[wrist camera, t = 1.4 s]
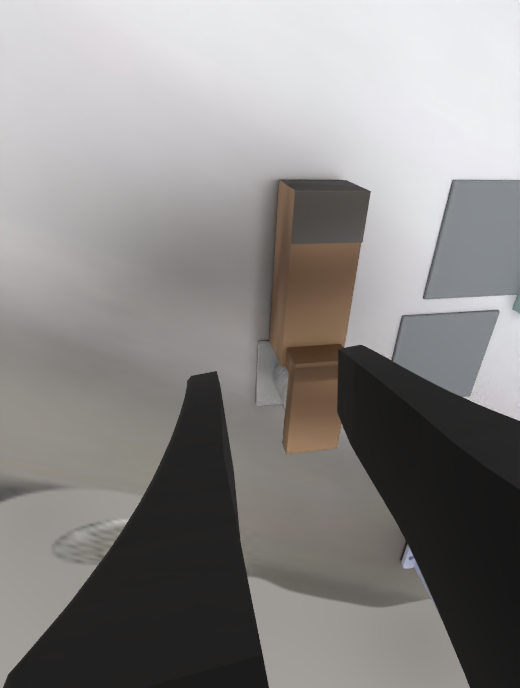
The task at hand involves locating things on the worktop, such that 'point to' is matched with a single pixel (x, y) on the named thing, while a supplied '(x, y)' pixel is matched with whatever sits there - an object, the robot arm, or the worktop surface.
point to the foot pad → (445, 347)
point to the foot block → (517, 304)
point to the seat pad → (478, 242)
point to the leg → (314, 301)
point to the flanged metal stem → (270, 377)
